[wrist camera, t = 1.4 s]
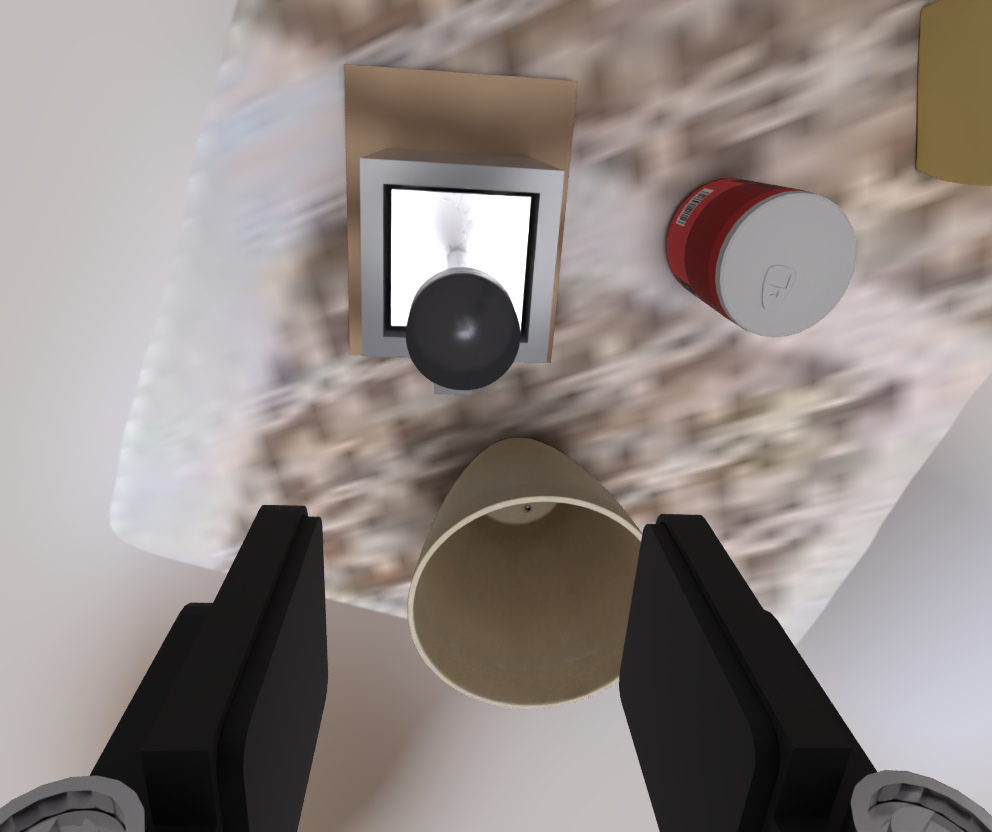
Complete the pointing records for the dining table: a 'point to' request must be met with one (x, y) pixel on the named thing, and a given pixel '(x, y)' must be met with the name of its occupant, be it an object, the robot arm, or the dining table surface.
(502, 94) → the board
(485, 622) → the plant pot
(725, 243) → the canned food
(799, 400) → the dining table surface
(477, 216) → the plunger
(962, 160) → the cheese
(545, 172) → the grey boxy piece
